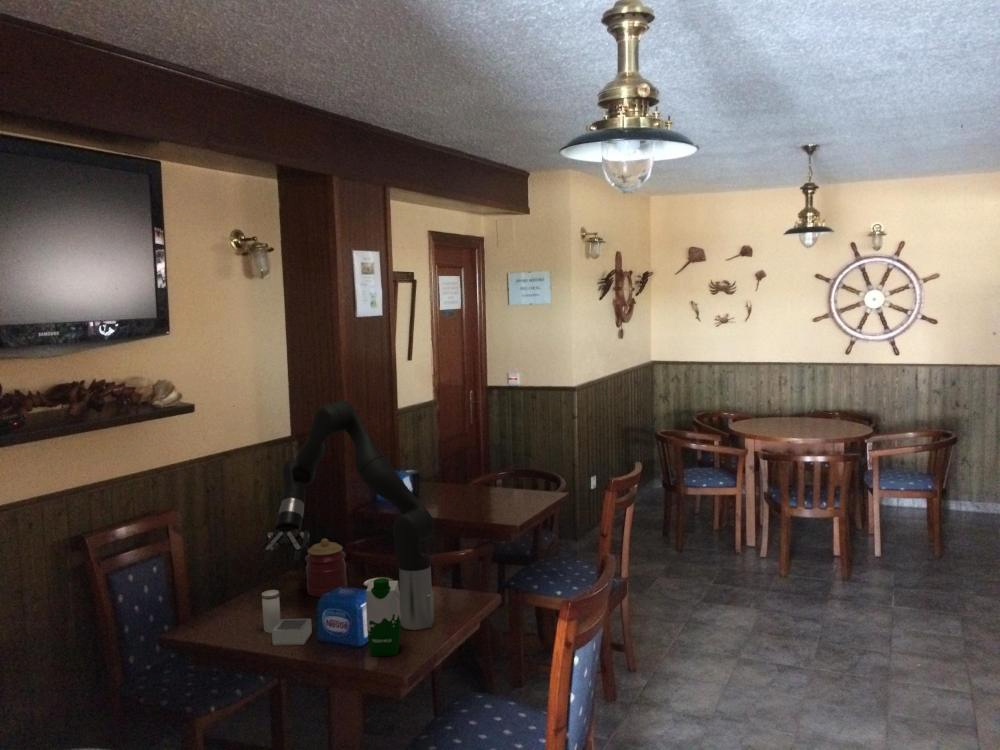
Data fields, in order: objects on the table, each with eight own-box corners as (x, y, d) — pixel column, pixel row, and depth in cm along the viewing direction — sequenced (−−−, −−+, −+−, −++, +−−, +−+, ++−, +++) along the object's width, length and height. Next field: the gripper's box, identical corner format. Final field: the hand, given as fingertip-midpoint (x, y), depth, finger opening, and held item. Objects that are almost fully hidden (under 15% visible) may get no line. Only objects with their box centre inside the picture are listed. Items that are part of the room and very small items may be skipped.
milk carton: (366, 658, 219) (362, 584, 217) (371, 644, 228) (368, 573, 226) (399, 656, 219) (396, 582, 217) (403, 643, 228) (400, 571, 226)
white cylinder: (283, 626, 243) (281, 589, 242) (278, 632, 238) (276, 595, 237) (266, 626, 243) (264, 590, 242) (261, 633, 238) (259, 595, 238)
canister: (319, 601, 263) (316, 546, 262) (300, 591, 273) (297, 539, 271) (355, 591, 272) (352, 538, 270) (335, 582, 281) (332, 531, 280)
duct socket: (311, 632, 238) (311, 618, 237) (303, 644, 229) (302, 630, 229) (282, 633, 238) (281, 619, 238) (272, 645, 229) (271, 630, 229)
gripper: (265, 510, 259) (254, 557, 249) (310, 509, 258) (301, 556, 248) (271, 522, 265) (261, 569, 254) (315, 521, 264) (307, 568, 254)
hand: (281, 563), depth 251 cm, fingers open, 8 cm apart
